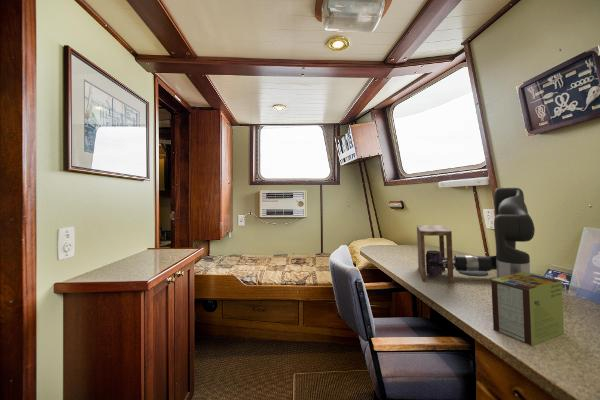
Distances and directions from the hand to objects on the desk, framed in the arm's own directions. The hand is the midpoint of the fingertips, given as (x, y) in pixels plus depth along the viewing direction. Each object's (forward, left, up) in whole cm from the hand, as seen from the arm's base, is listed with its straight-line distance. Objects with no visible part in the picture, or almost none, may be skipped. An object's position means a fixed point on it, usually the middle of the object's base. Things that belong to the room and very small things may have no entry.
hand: (428, 262), depth 140 cm
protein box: (-34, +48, -7) cm, 59 cm away
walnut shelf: (-2, -1, -7) cm, 7 cm away
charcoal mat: (-18, -14, -7) cm, 24 cm away
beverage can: (-2, -1, -7) cm, 7 cm away
